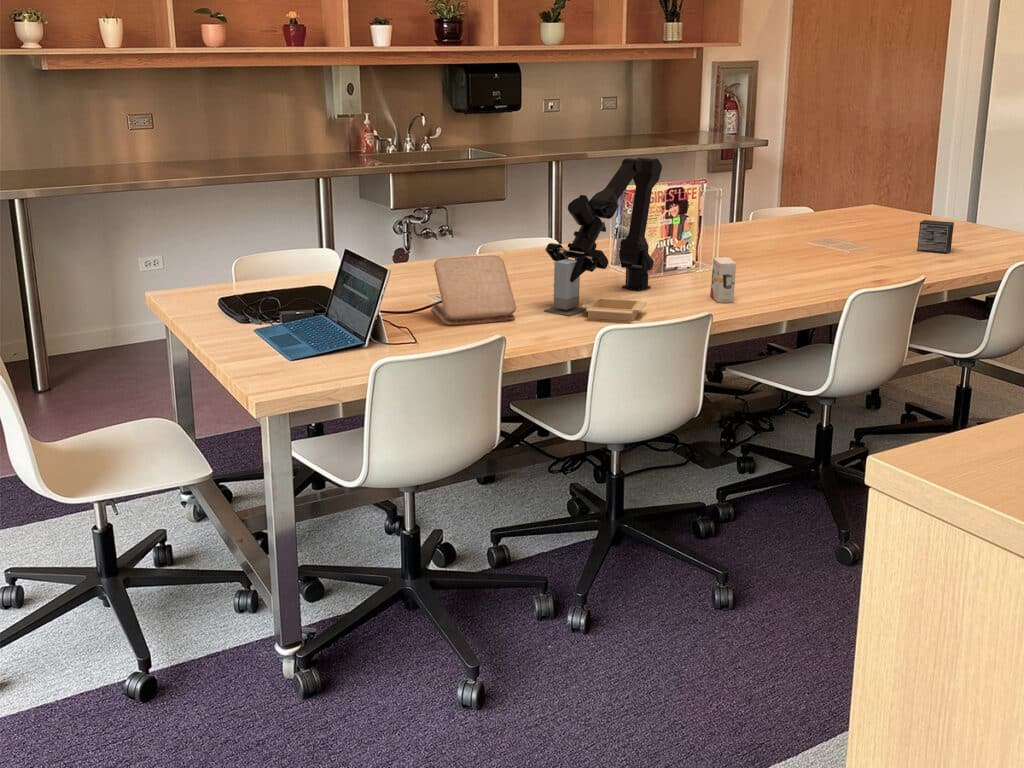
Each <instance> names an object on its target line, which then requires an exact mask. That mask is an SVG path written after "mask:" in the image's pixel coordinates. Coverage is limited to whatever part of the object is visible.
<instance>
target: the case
mask: <svg viewBox="0 0 1024 768" xmlns="http://www.w3.org/2000/svg"><path fill="white" fill-rule="evenodd" d="M433 267H434V272H435V275H436V281H437V286H438V290H439V294H440V299H441V303H436V304H434V305H433V306H431V311H432V312H433V313H434V314H435V316H437V317H438V318H439V320H441V322H442V323H443V324H444V325H446V326H462V325H473V324H475V325H478V324H488V323H500V322H509V321H513V320H515V319H516V315H515V314H514V313H515V312H516V310H517V305H516V301H515V297H514V294H513V291H512V288H511V287H512V285H511V284H510V280H509V275H508V272H507V269H506V268H507V267H506V265H505V261H504V259H503V258H501V257H500V256H499V255H491V254H490V255H473V256H472V255H471V256H470V255H469V256H468V255H467V256H458V257H443V258H442V257H441V258H439V259H436V260H435V261H434V264H433Z"/></svg>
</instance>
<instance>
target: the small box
mask: <svg viewBox="0 0 1024 768" xmlns="http://www.w3.org/2000/svg"><path fill="white" fill-rule="evenodd" d="M954 224H955V222H953V221H942V220H928V219H923V220H921V221H920V222H919V229H918V230H919V231H918V239H917V248H916V252H920V253H921V252H923V253H934V254H945V255H948V254H949V253H950V252H951V251H952V243H953V235H954Z"/></svg>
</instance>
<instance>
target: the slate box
mask: <svg viewBox="0 0 1024 768" xmlns="http://www.w3.org/2000/svg"><path fill="white" fill-rule="evenodd" d="M576 261H577V260H575V259H573V258H568V259H564V260H560V261H554V271H553V273H554V275H553V307H555V308H560V309H565V310H567V309H570V308H574V307H580V287H581V286H580V285H581V283H580V281H581V280H580V278H581V275H580V276H579V277H578V278H577V279H576V280H575V281H574V282H571V281H570V278H571V275H572V272H573V269H574V267H575V264H576Z"/></svg>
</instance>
